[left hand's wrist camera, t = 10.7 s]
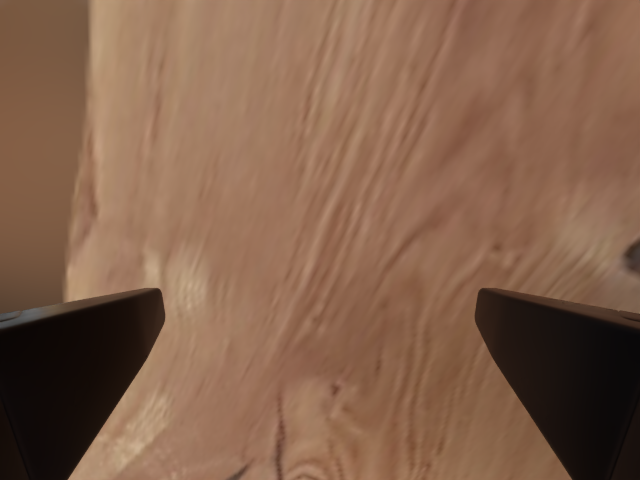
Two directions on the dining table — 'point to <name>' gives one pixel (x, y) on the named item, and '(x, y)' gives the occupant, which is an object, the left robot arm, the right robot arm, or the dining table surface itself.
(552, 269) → the dining table surface
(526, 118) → the dining table surface
